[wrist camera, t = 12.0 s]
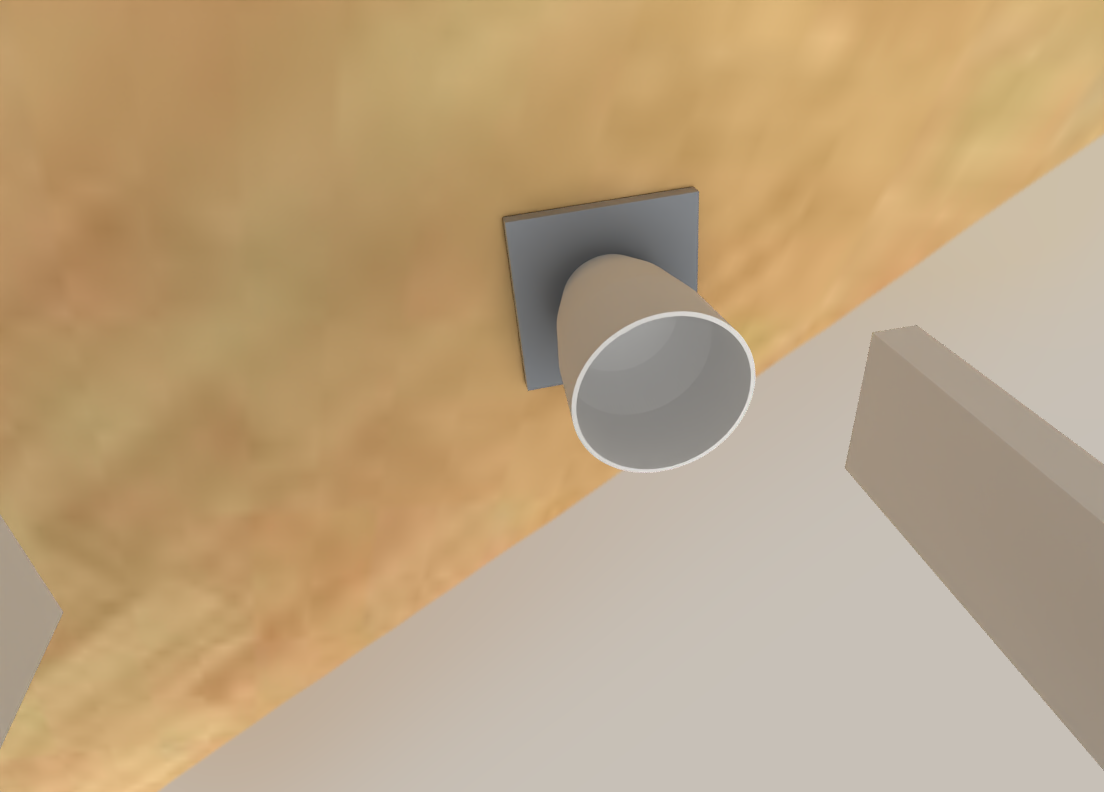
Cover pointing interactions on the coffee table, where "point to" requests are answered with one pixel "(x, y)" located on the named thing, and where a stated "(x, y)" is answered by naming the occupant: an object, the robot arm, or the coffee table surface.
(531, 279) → the coaster
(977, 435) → the robot arm
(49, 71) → the coffee table surface
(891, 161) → the coffee table surface
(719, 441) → the cup
